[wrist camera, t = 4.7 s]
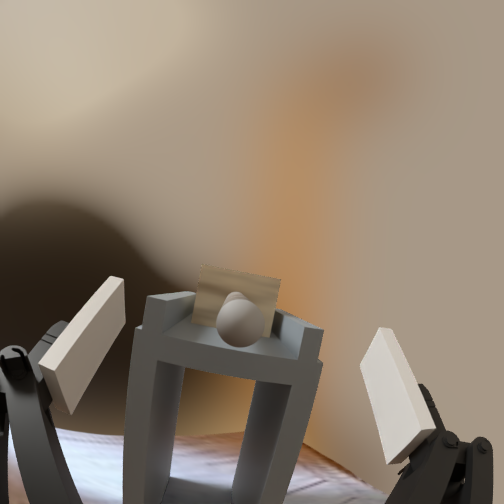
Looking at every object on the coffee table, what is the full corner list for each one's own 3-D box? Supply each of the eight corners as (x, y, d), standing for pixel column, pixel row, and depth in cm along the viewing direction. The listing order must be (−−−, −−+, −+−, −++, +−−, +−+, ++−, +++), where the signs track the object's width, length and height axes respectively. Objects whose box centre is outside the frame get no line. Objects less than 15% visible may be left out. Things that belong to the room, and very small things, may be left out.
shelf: (252, 576, 18) (331, 324, 22) (125, 554, 17) (142, 287, 21) (244, 488, 38) (285, 306, 42) (157, 472, 37) (184, 286, 41)
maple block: (317, 402, 12) (344, 270, 13) (137, 370, 12) (161, 234, 13) (261, 326, 39) (270, 280, 40) (200, 314, 39) (208, 268, 39)
